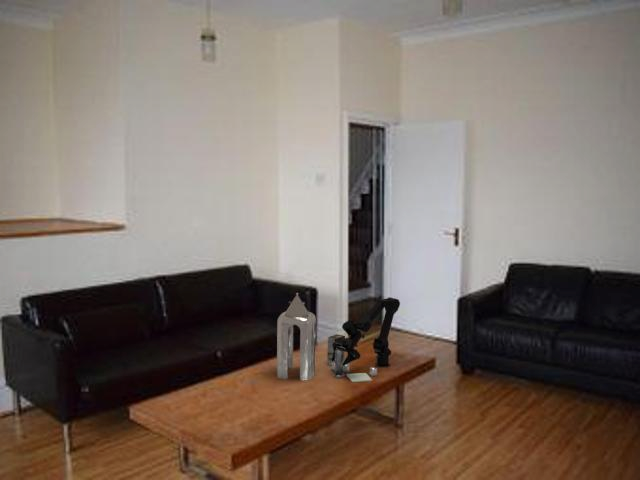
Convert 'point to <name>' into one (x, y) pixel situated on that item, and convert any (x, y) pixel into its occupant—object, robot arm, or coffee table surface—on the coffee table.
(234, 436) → the coffee table surface
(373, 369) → the cylinder
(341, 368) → the standoff
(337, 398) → the coffee table surface
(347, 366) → the cylinder
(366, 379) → the pad
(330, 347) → the coffee box
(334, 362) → the cylinder
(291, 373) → the coffee table surface
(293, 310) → the grey metal tall arch
